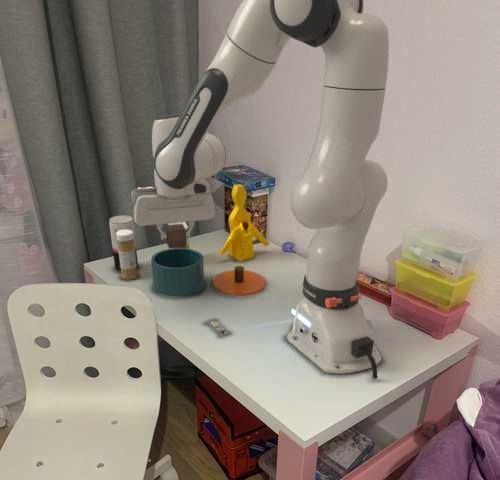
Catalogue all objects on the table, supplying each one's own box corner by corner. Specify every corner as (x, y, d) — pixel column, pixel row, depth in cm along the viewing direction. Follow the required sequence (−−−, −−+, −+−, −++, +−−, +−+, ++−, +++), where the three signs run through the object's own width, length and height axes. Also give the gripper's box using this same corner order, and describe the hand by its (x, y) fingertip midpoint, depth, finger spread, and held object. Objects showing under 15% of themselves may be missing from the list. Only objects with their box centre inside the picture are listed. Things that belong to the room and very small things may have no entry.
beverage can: (111, 267, 143) (104, 218, 135) (130, 261, 147) (125, 213, 139) (122, 275, 139) (116, 224, 131) (142, 268, 143) (137, 219, 135)
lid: (273, 293, 132) (274, 275, 129) (221, 300, 127) (221, 283, 124) (254, 270, 143) (255, 254, 141) (206, 277, 139) (206, 260, 136)
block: (186, 246, 126) (186, 229, 124) (169, 248, 125) (168, 231, 122) (182, 240, 130) (182, 223, 127) (165, 241, 128) (164, 225, 126)
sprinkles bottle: (133, 272, 141) (128, 227, 134) (140, 277, 138) (136, 232, 131) (118, 276, 138) (112, 231, 131) (125, 281, 135) (120, 236, 128)
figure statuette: (222, 267, 145) (222, 194, 134) (210, 258, 151) (209, 187, 140) (272, 256, 153) (276, 186, 142) (259, 247, 159) (261, 179, 148)
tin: (209, 294, 130) (209, 265, 126) (159, 301, 126) (156, 271, 122) (197, 273, 141) (196, 245, 137) (149, 279, 137) (147, 251, 133)
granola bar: (206, 324, 117) (206, 321, 117) (214, 322, 119) (214, 318, 118) (220, 337, 113) (220, 333, 112) (229, 334, 114) (229, 331, 113)
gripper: (132, 191, 114) (137, 246, 121) (216, 185, 120) (216, 238, 127) (128, 184, 119) (133, 237, 126) (209, 178, 125) (210, 230, 132)
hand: (176, 238), depth 126 cm, fingers closed on block, 4 cm apart
